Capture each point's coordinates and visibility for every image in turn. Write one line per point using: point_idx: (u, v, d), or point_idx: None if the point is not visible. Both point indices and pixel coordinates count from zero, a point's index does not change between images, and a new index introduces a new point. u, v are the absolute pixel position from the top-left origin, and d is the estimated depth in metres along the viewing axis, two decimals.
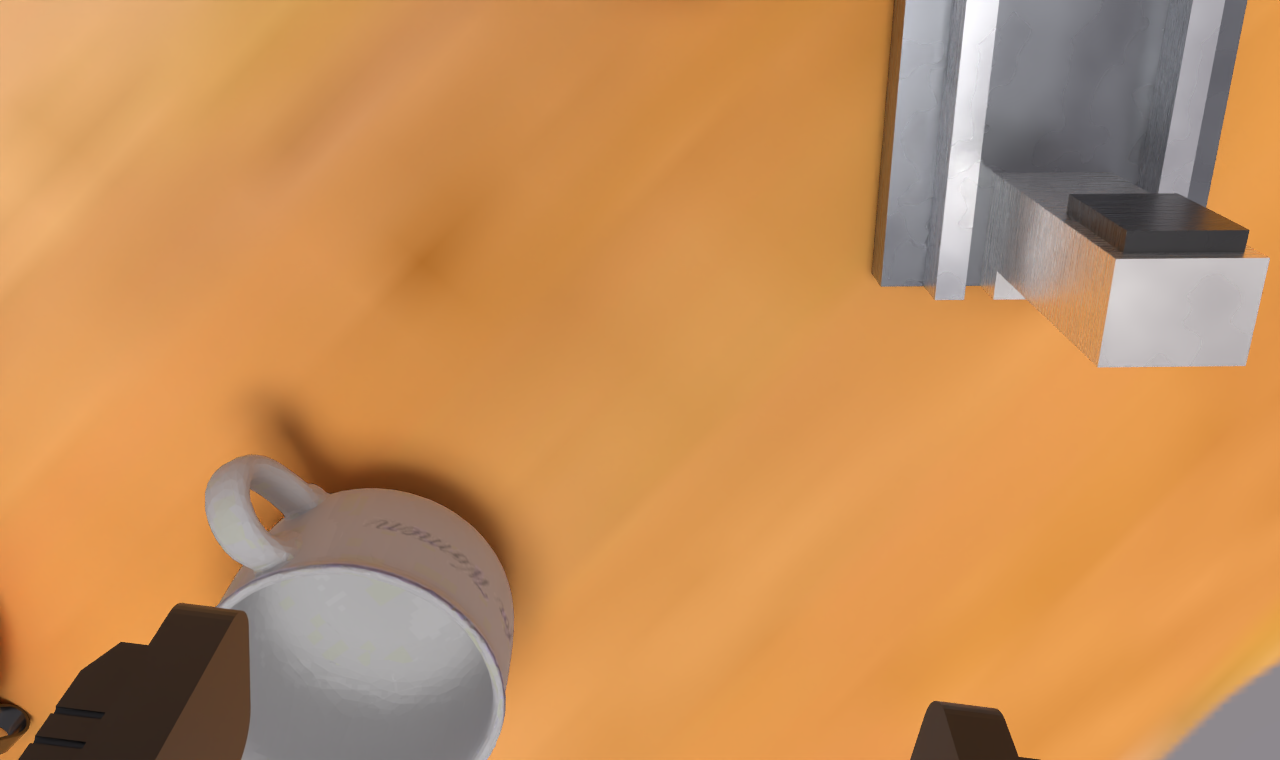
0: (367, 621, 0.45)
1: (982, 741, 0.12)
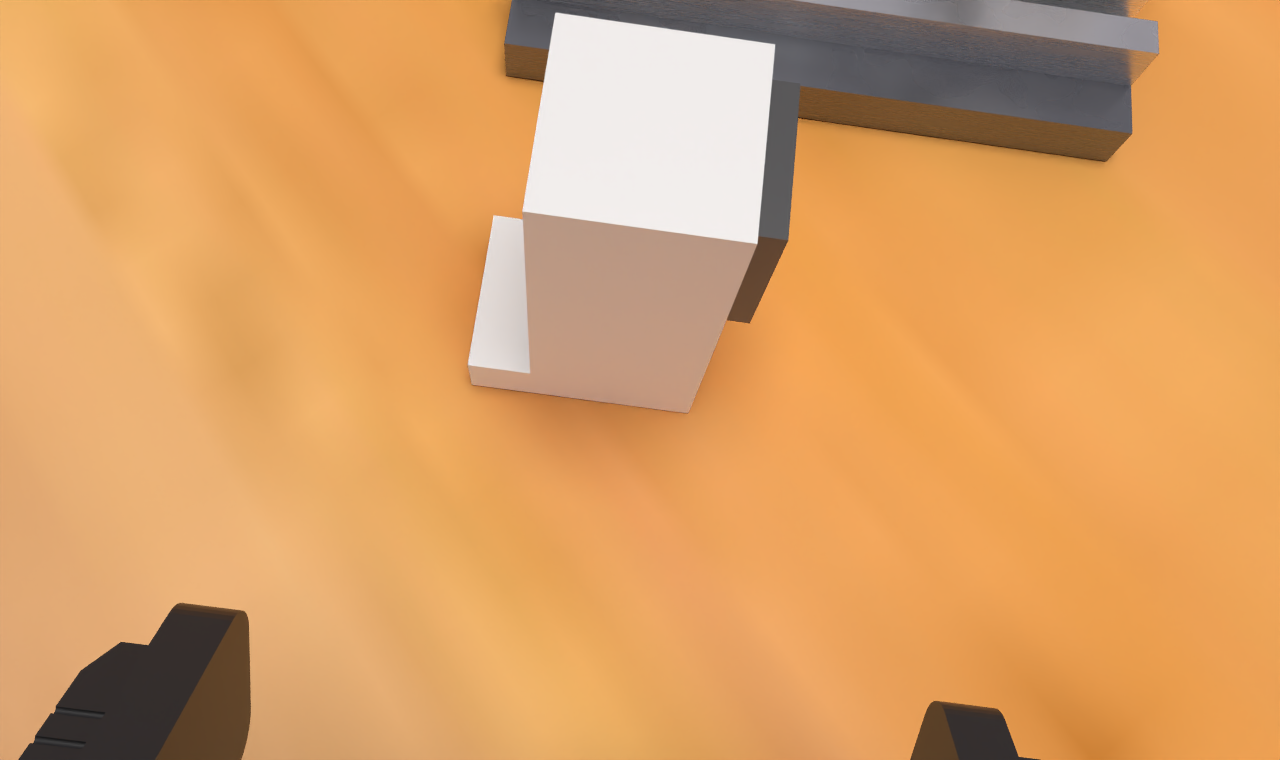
0: None
1: (982, 741, 0.12)
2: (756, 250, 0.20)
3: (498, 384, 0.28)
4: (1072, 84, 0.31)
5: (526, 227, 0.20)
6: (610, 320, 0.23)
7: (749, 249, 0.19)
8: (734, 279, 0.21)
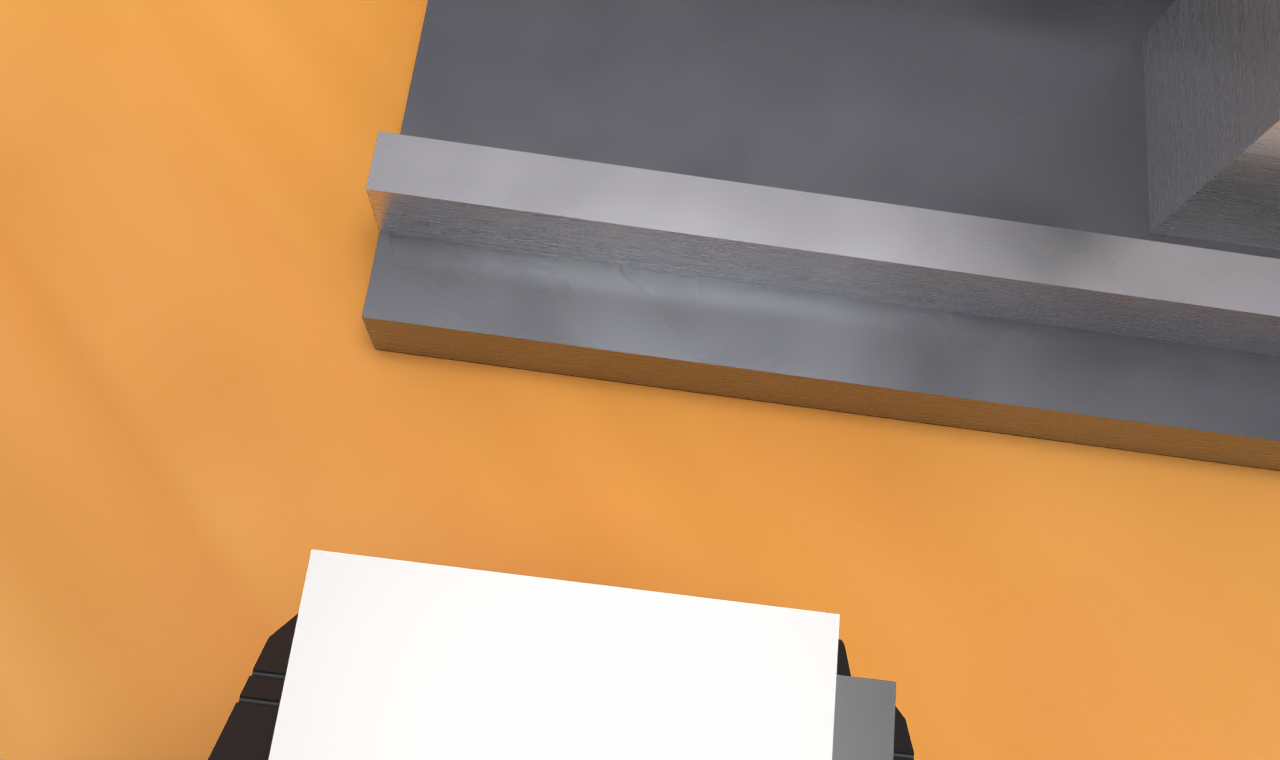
0: None
1: None
2: None
3: None
4: None
5: None
6: None
7: None
8: None
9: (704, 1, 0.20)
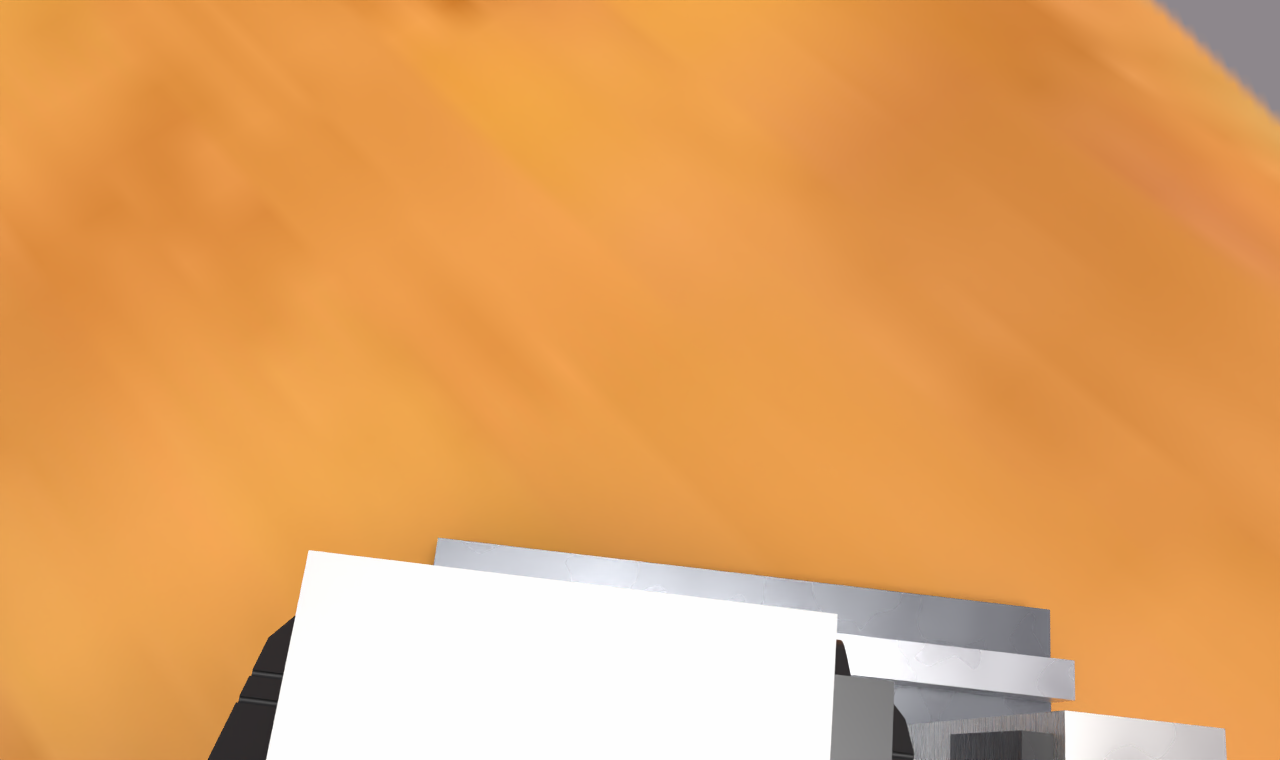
0: None
1: None
2: None
3: None
4: None
5: None
6: None
7: None
8: None
9: None
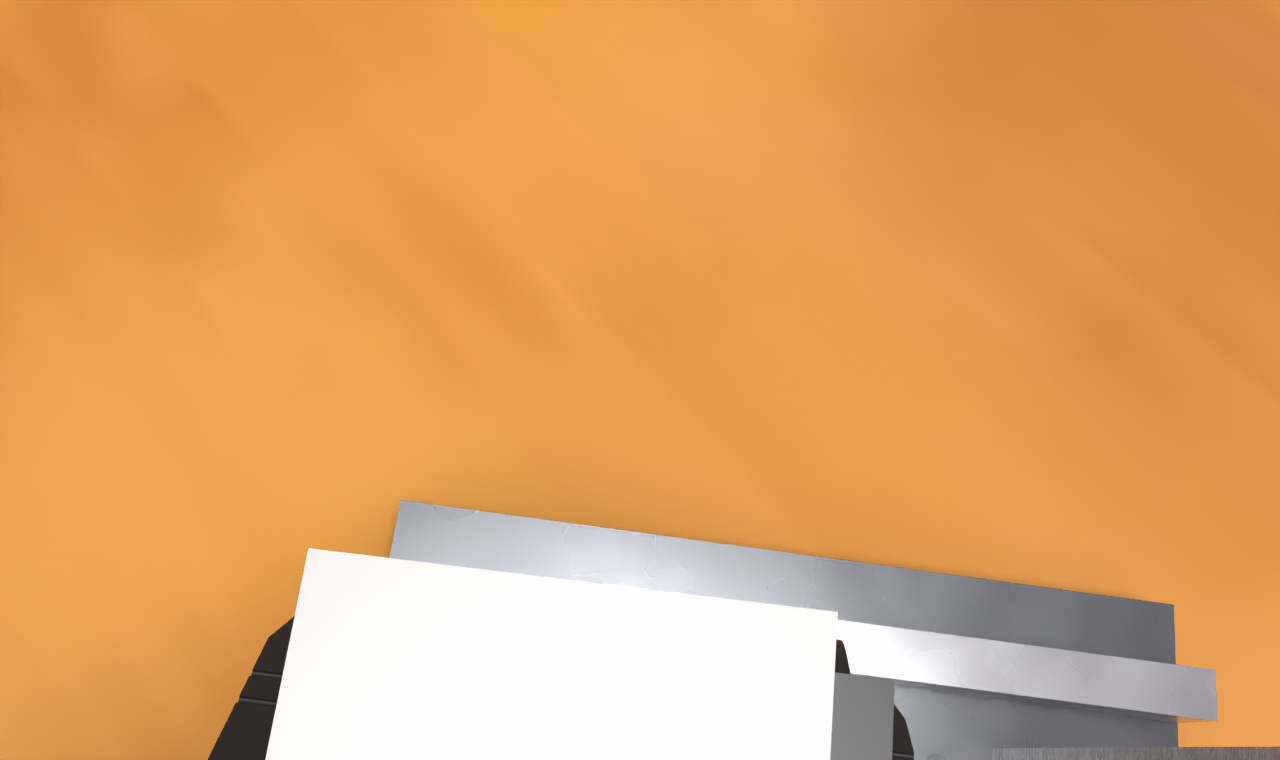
0: None
1: None
2: None
3: None
4: None
5: None
6: None
7: None
8: None
9: None
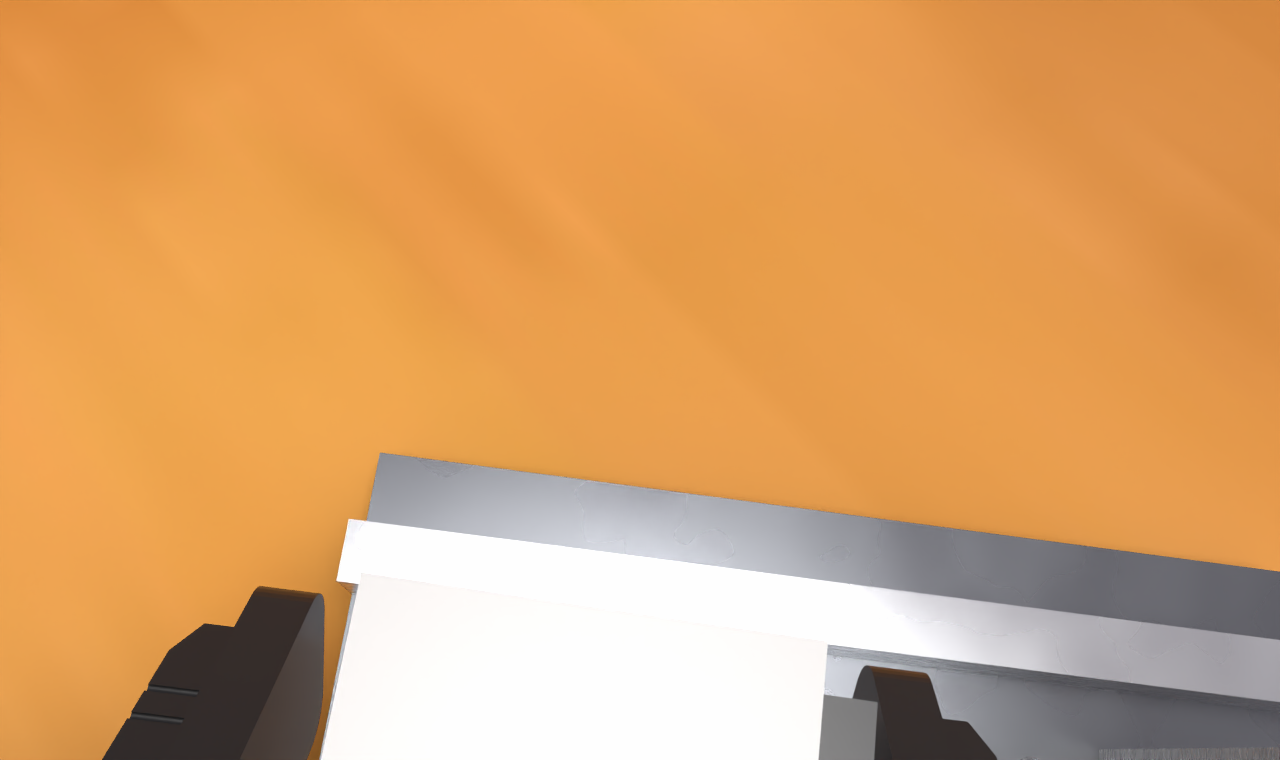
0: None
1: (907, 702, 0.13)
2: None
3: None
4: None
5: None
6: None
7: None
8: None
9: None
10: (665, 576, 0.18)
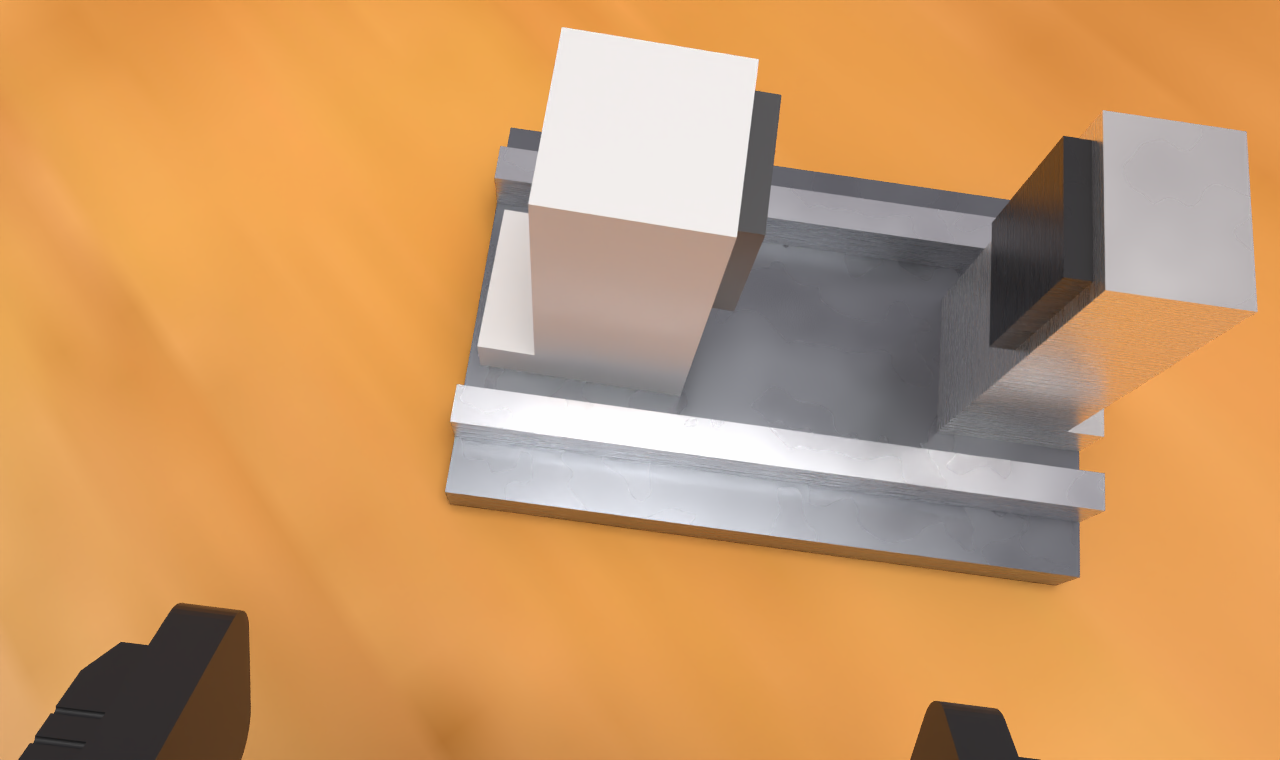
0: None
1: (982, 741, 0.12)
2: (737, 243, 0.23)
3: (505, 365, 0.30)
4: (1020, 522, 0.31)
5: (531, 218, 0.22)
6: (607, 305, 0.26)
7: (729, 242, 0.22)
8: (717, 269, 0.23)
9: None
10: None
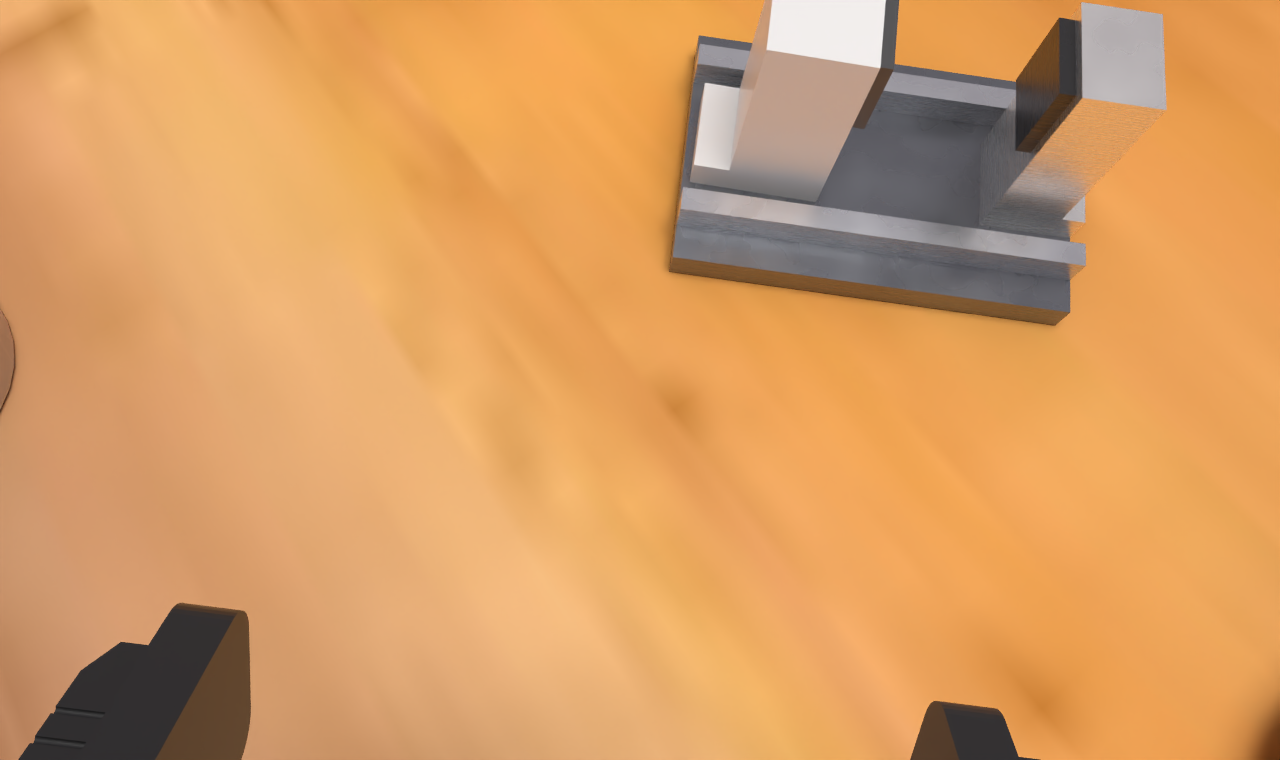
0: None
1: (982, 741, 0.12)
2: (876, 76, 0.40)
3: (706, 181, 0.48)
4: (1032, 279, 0.48)
5: (765, 60, 0.40)
6: (789, 124, 0.43)
7: (875, 71, 0.39)
8: (864, 92, 0.41)
9: None
10: None
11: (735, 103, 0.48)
